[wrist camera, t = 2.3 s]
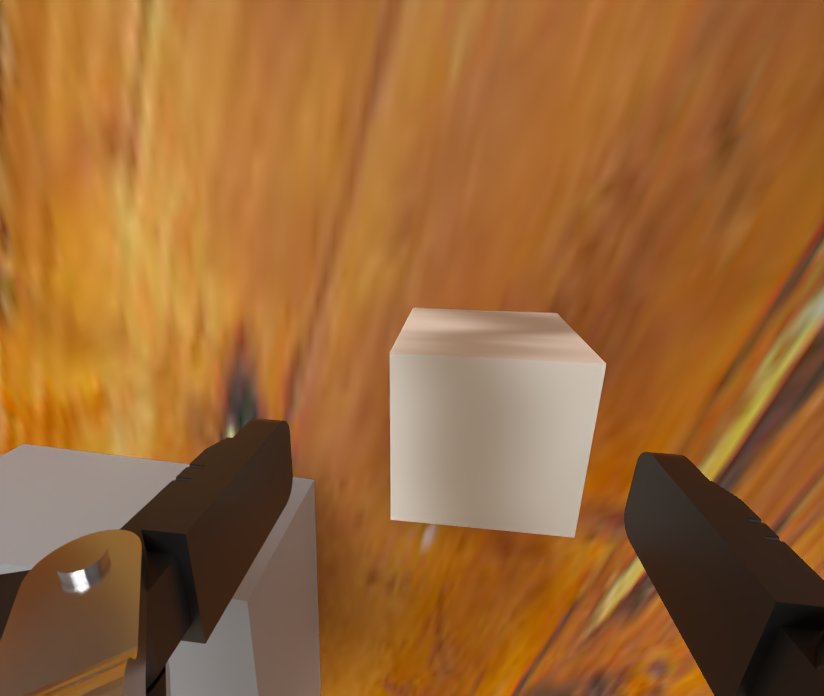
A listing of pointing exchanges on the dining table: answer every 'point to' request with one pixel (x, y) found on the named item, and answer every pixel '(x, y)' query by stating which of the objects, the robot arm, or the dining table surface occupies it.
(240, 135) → the dining table surface
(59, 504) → the slate block
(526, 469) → the cream cube
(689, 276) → the dining table surface
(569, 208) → the dining table surface
